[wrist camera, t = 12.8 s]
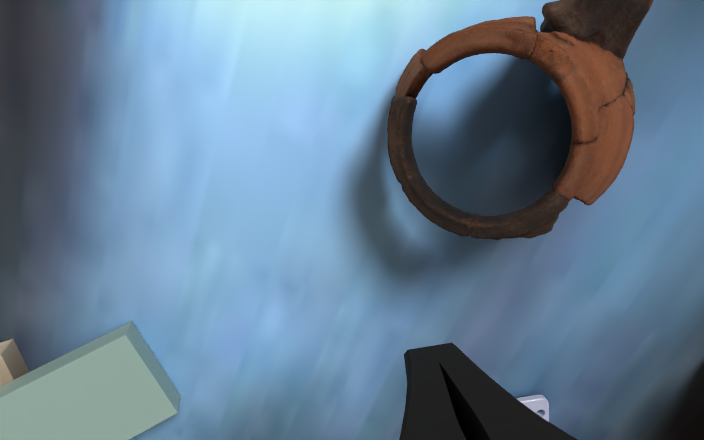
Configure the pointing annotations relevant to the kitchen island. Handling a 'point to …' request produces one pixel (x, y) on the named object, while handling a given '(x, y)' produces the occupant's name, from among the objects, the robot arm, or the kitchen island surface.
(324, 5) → the kitchen island surface
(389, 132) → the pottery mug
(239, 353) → the kitchen island surface
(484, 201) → the kitchen island surface
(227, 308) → the kitchen island surface
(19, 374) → the domino
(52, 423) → the domino
